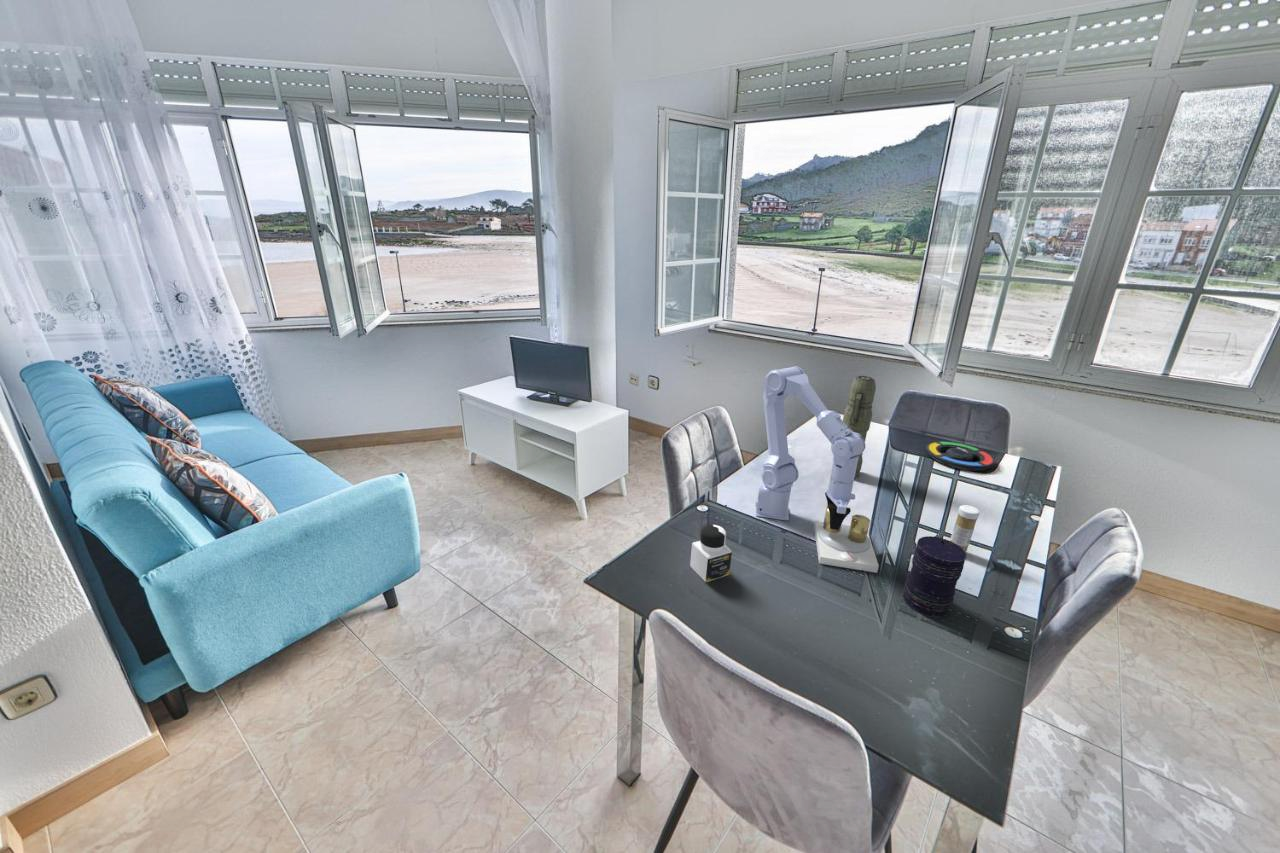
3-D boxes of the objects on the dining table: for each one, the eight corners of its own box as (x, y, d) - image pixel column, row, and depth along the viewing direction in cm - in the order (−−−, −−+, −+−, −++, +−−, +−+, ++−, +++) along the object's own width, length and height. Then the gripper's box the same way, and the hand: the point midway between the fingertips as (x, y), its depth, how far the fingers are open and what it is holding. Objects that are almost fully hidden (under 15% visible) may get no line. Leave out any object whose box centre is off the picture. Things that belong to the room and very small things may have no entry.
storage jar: (948, 624, 115) (966, 567, 109) (899, 606, 120) (914, 551, 114) (950, 599, 123) (967, 545, 117) (905, 583, 128) (919, 531, 122)
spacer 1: (824, 532, 139) (828, 512, 137) (821, 523, 144) (825, 504, 141) (842, 533, 139) (846, 514, 137) (838, 525, 143) (842, 505, 141)
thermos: (861, 469, 188) (881, 375, 175) (857, 482, 178) (878, 384, 166) (835, 464, 192) (853, 371, 179) (830, 476, 182) (848, 379, 169)
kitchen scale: (819, 563, 134) (820, 554, 133) (813, 527, 150) (815, 518, 149) (877, 572, 131) (879, 563, 130) (865, 534, 148) (867, 526, 147)
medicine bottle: (705, 583, 125) (709, 540, 120) (689, 566, 131) (693, 525, 126) (729, 575, 128) (734, 533, 124) (713, 559, 134) (717, 518, 129)
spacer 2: (849, 542, 139) (854, 522, 137) (846, 532, 143) (850, 513, 141) (867, 544, 138) (872, 524, 136) (863, 534, 142) (867, 515, 140)
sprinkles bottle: (954, 545, 144) (967, 503, 139) (970, 554, 140) (983, 511, 135) (943, 549, 142) (955, 506, 137) (959, 558, 138) (972, 514, 133)
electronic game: (911, 451, 207) (913, 440, 205) (955, 446, 214) (958, 435, 212) (959, 476, 187) (963, 464, 185) (1007, 470, 193) (1011, 458, 192)
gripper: (862, 493, 128) (852, 540, 133) (854, 469, 142) (845, 512, 146) (832, 489, 130) (823, 536, 135) (827, 465, 143) (819, 509, 148)
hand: (833, 523), depth 141 cm, fingers closed on spacer 1, 4 cm apart
